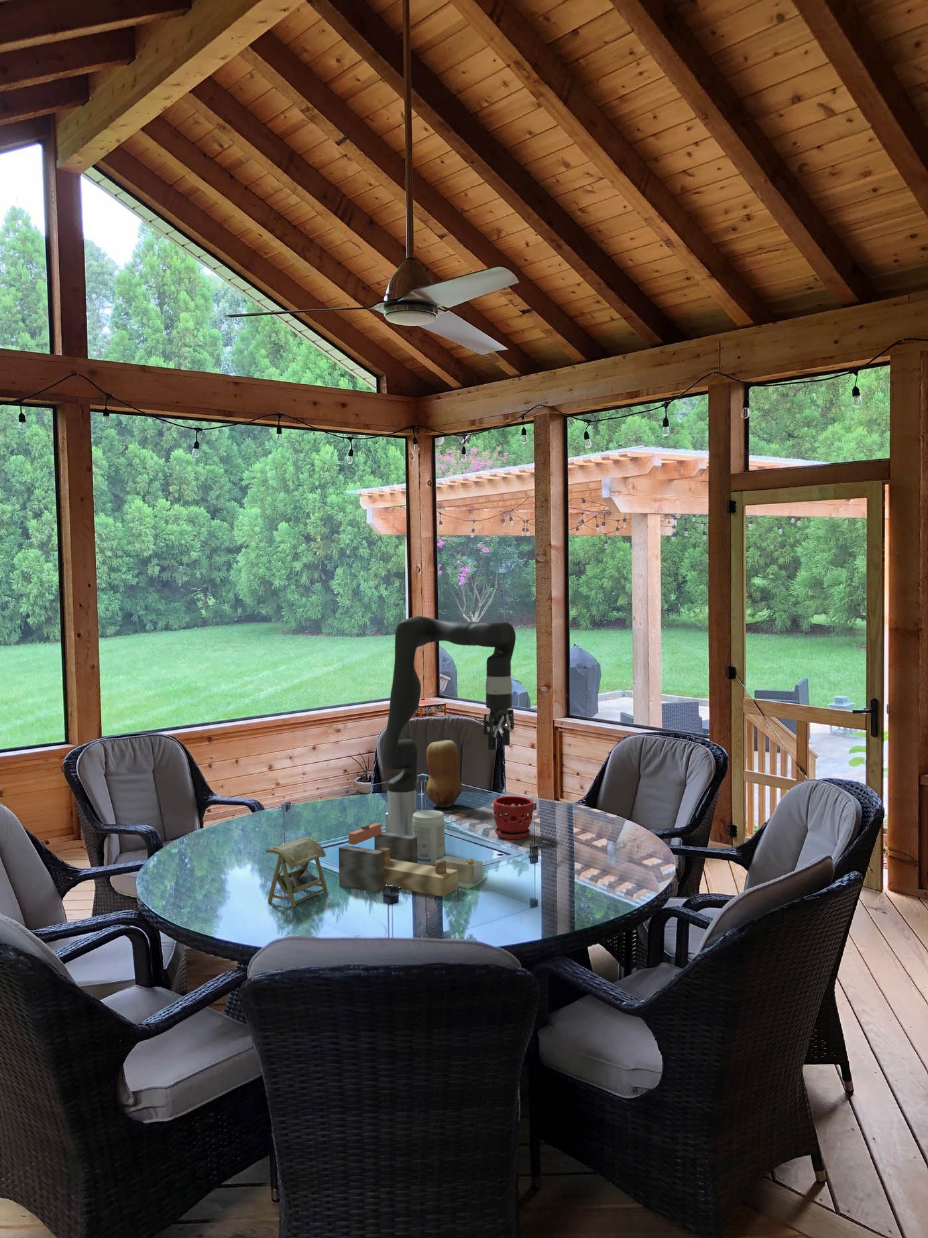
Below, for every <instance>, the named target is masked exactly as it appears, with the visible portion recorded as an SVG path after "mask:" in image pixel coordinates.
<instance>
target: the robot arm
mask: <svg viewBox="0 0 928 1238" xmlns="http://www.w3.org/2000/svg"><path fill="white" fill-rule="evenodd" d="M516 635H517V634H516V631H515V628H514V626H513V625H512V624H511V623H510V622H507V621H498V622H480V621H479V622H478V621H449V620H448V621H447V620H440V619H437V618H432V617H427V616H422V615H417V616H413V617H410V618H405V619H402V620H401V621H400V622H398V624H397V626H396V628H395V634H394V662H393V663H394V664H393V675H392V684H391V689H390V696H389V698H390V699H389V709H388V710H389V711H388V718H387V724H386V729H385V732H384V733H385V734H384V737H383V743H382V748H381V762H382V766H383V767H384V768H385V769H386V770H390V771H392V770H401V771H400V773H398V774H397V775H396V776H394V777H393V778H390V779H389V780H388V781H387V785H386V786H387V789H386V791H387V794H386V795H387V797H386V798H387V799H386V800H387V812H385V814H384V832H390V833H397V834H403V835H410V836H413V814H414V813H415V812H417V780H418V762H419V761H418V760H419V759H418V758H419V756H418V755H419V754H418V753H419V752H418V747H417V743H416V742H415V740H413V739H409V738H407V739H400V738H401V737H400V736H401V734H402V731H403V729H404V728H405V727H406V725H407V724H408V723H409V721H411V719H412V717H413V716H414V715H415V713H417V711H418V709H419V706H420V699H421V693H422V692H421V691H422V686H421V685H422V684H421V681H420V678H419V676H418V674H417V672H416V669H415V659H416V658H415V657H416V652H417V649H418V648H420V647H422V646H426V645H427V644H431V643H435V642H449V643H451V644H454V645H457V646H470V647H471V646H472V647H477V646H478V647H484V648H494V650H493V652H492V654H491V655H489V656H488V657H487V658H486V679H485V707H486V709H489V711H490V712H489V714H488V713H485V714H484V715H483V735H484V736H486V737H487V745H488V746H487V749H488V750H489V751H496V750H497V735H498V731H500V729H501V731H502V732H501V744H502V745H501V746H503V747H507V746H508V747H509V746H510V745H511V735H510V734H511V733H512V730H514V729H515V721H514V720H515V718H514V717H515V716H514V714H515V713H514V709H512V707H513V683H512V666H511V663H512V657H513V655H514V650H515V646H516V638H517V637H516Z"/></svg>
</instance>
